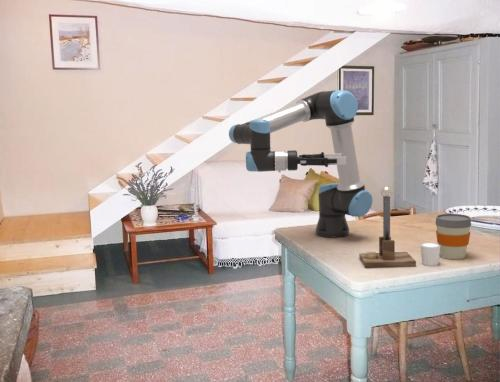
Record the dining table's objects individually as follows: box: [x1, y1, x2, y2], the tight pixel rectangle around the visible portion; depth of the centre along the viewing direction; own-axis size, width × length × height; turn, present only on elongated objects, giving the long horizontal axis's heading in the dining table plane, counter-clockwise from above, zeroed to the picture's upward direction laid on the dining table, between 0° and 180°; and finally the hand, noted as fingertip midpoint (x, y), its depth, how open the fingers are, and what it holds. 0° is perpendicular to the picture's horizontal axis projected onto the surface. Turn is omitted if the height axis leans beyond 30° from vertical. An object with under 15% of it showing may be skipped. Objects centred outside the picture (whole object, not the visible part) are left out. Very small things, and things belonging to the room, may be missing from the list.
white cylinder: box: [420, 242, 440, 267], centre depth 191 cm, size 7×7×7 cm
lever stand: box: [358, 236, 417, 269], centre depth 194 cm, size 12×18×9 cm, turn 89°
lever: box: [380, 186, 393, 246], centre depth 192 cm, size 4×4×24 cm
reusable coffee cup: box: [435, 213, 472, 260], centre depth 198 cm, size 13×12×15 cm
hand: (343, 158), depth 197 cm, fingers open, 13 cm apart
